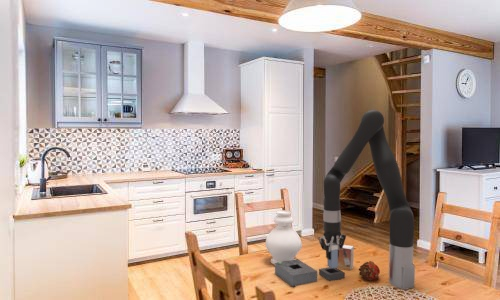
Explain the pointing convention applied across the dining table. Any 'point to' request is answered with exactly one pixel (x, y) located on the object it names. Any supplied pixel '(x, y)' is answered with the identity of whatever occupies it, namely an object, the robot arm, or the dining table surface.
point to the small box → (345, 257)
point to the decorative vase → (283, 239)
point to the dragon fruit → (369, 271)
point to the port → (295, 272)
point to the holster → (331, 273)
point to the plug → (333, 256)
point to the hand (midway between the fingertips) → (332, 258)
